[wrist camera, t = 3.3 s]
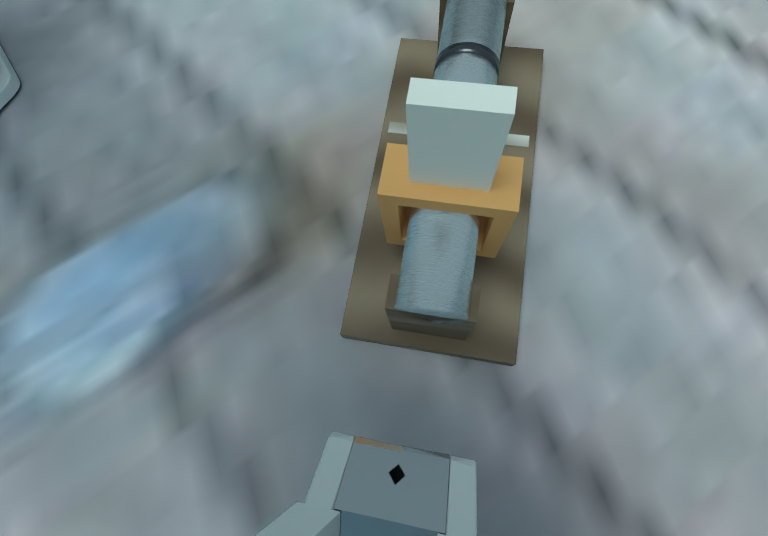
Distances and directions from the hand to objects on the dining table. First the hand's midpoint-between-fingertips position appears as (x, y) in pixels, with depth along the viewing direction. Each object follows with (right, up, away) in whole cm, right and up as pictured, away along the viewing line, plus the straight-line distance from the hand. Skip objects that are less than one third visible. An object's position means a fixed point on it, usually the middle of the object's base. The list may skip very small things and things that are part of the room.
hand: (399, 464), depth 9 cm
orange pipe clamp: (+4, +7, +19) cm, 21 cm away
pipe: (+4, +12, +20) cm, 24 cm away
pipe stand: (+5, +10, +25) cm, 28 cm away
